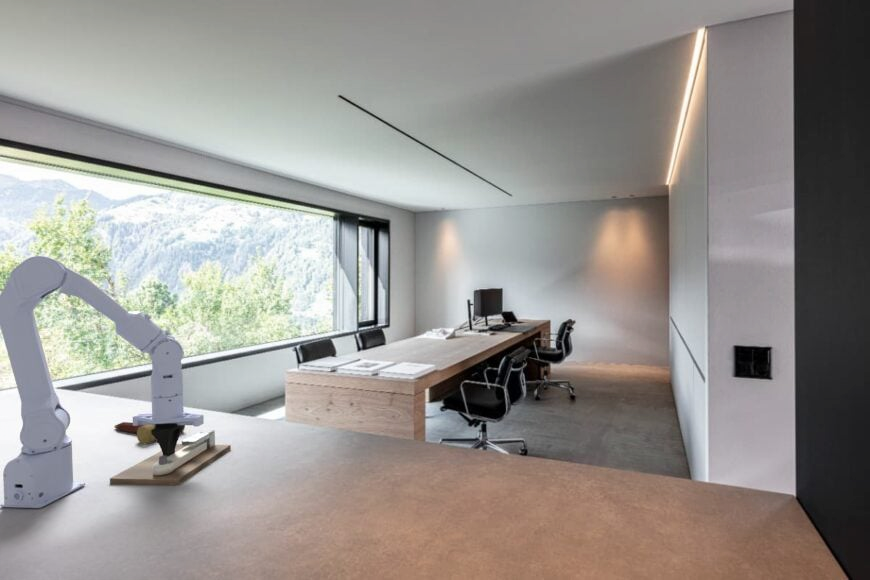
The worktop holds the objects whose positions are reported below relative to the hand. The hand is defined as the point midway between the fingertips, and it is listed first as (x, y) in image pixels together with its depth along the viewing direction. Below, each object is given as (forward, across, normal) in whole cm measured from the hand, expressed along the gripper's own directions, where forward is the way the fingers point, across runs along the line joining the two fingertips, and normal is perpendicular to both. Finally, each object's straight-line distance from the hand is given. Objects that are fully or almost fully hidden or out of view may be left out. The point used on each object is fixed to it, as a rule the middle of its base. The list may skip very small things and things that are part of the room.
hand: (169, 459), depth 97 cm
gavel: (+3, +24, -22) cm, 32 cm away
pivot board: (+2, 0, -2) cm, 3 cm away
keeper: (+1, -2, -7) cm, 7 cm away
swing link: (+1, -2, -1) cm, 2 cm away
